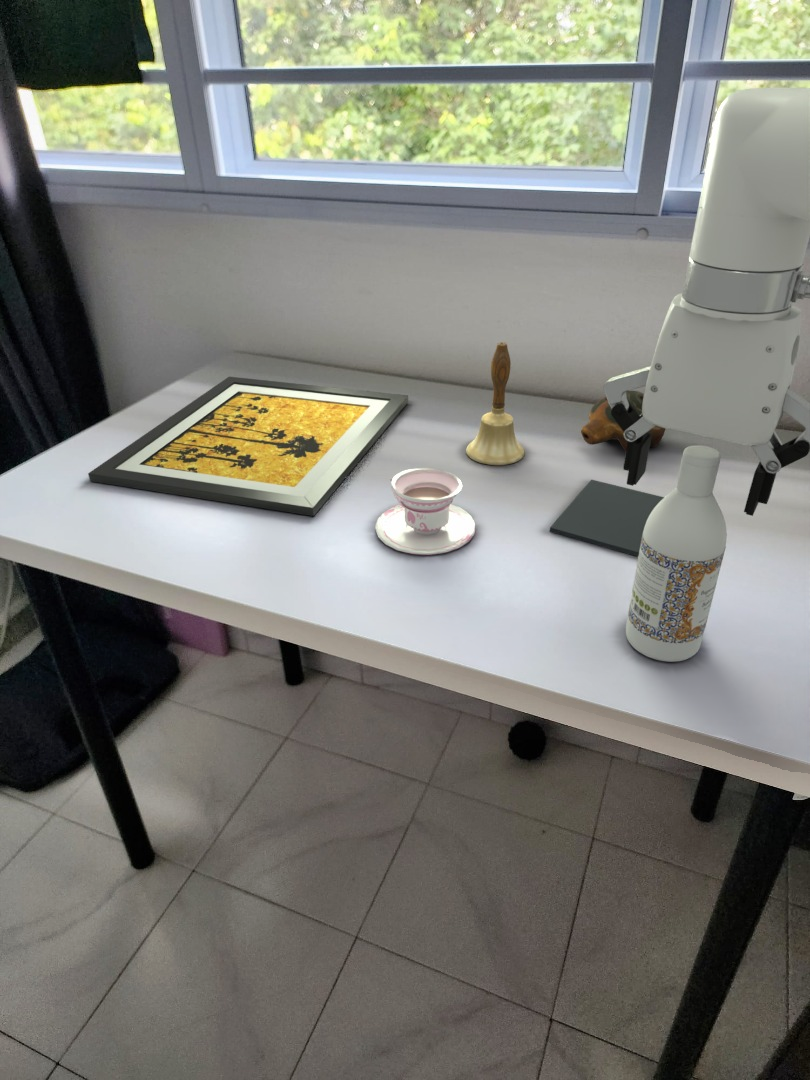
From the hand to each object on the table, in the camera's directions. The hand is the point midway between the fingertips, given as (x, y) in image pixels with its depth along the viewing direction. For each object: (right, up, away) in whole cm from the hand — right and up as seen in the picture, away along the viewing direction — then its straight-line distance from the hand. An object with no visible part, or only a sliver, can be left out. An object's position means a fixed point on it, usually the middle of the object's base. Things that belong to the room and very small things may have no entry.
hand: (691, 492), depth 64 cm
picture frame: (-45, +11, +49) cm, 68 cm away
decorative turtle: (+8, +10, +45) cm, 47 cm away
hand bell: (-11, +8, +44) cm, 46 cm away
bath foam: (0, -14, +9) cm, 16 cm away
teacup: (-22, -3, +27) cm, 35 cm away
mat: (+2, -2, +27) cm, 27 cm away
